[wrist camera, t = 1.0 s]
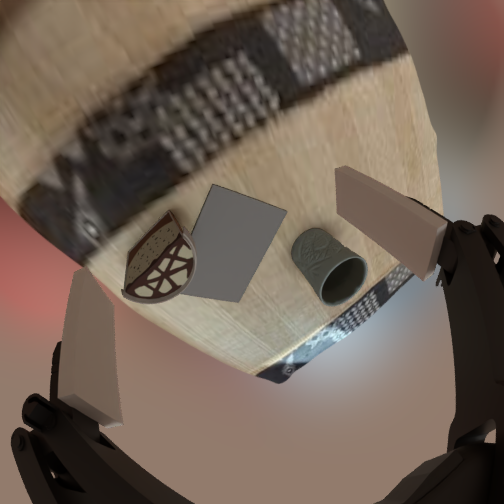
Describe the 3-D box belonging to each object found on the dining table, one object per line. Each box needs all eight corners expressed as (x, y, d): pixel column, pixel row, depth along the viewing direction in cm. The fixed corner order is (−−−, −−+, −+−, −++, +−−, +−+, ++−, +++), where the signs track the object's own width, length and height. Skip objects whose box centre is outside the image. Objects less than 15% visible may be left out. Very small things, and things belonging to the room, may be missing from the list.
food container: (150, 278, 43) (155, 320, 35) (122, 258, 39) (120, 299, 32) (202, 228, 42) (219, 263, 34) (176, 202, 38) (186, 234, 31)
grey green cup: (316, 271, 57) (349, 307, 48) (278, 265, 52) (309, 306, 43) (338, 229, 53) (377, 261, 44) (300, 218, 48) (340, 253, 39)
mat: (169, 290, 46) (169, 292, 46) (212, 183, 39) (213, 184, 39) (237, 301, 53) (238, 302, 53) (286, 210, 46) (287, 211, 46)
